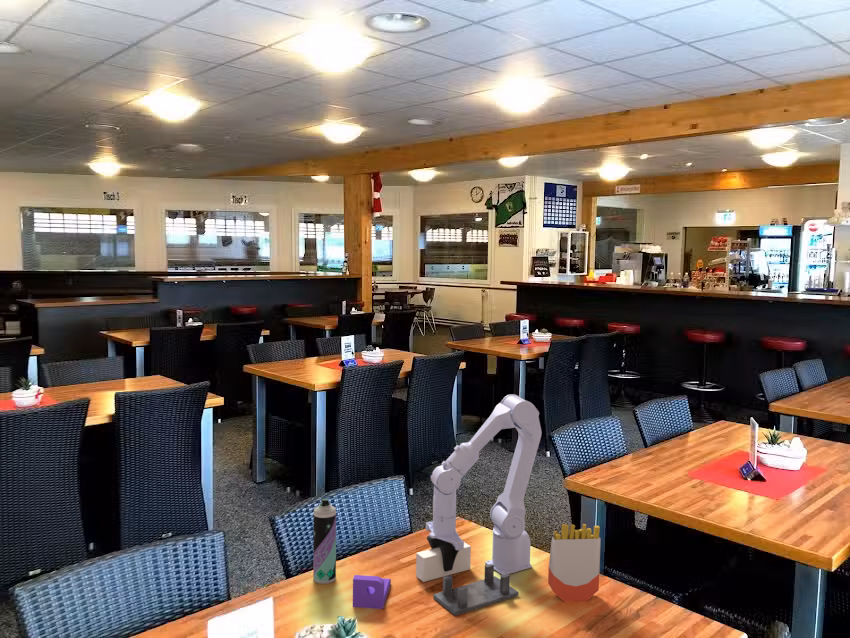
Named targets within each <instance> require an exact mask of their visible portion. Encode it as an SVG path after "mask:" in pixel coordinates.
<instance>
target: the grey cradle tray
mask: <svg viewBox="0 0 850 638" xmlns="http://www.w3.org/2000/svg"><path fill="white" fill-rule="evenodd" d="M494 572H495V570H494V565H492V564H489V565H487V564H485V565H484V577H483V578H484V579H480V580H477V581H474V582H470V583H466V584H464V585H460V586H456V587H454V588H453V581H454V580H453V579H454V578H453V577H454V576H452V574H451V575H447V576H443V577H442V591H440V592H437V593H433V594H432V595H433V597H432V599H433V600H434V601H436V602H437V604H440V605H441V606H442V607H443V608H444V609H445V610H447V611H448V612H449V613H450V614H452V615H453V616H454V617H457V616H460V615H462V614H463V615H464V614H466V613H469V612H473V611H475V610H478V609H481V608H485V607H488V606H491V605H494V604H497V603H500V602H501V603H502V602H503V601H507V600H510V599H513V598H516V597H519V593H520V592H519V591H518V590H517V589H515V588H513V587H512V586H511V585H510V582H511V581H510V580H511V577H510V576H511V575H510V574H505V575H502V574H501V575H500V576H499V577H500V578H499V577H497V576H495V573H494Z"/></svg>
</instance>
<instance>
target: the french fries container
mask: <svg viewBox="0 0 850 638" xmlns="http://www.w3.org/2000/svg"><path fill="white" fill-rule="evenodd" d="M575 528H576V525H575V524H570V526H569V525H568V523H562V524H561V529H560V531H561V532H560V533H558V531H557V530H554V532H553V536H552V537H551V544H550V551H549V552H550V553H549V561H548V575H547V576H548V578H547V579H548V580H547V583H548V585H549V587H550V589H551V590H552V592H553V593H554V594H555V595H556V596H557V597H559V598H560V599H561V600H562V601H563V602H585V601H586V602H587V601H588V600H590V599H591V598H592V596H593V597H594V595H595V594H596V593H597V592H599V590H600V587H599V586H600V568H601V567H600V566H601V564H600V563H601V562H600V561H601V559H600V558H601V542H602V541H601V539H602V538H601V537H600V532H601V531H600V529H601V528H600V526H599V525H594V526H593V533H592V528H590V527H587V523H586V524H585V523H582V528H580V529H575Z"/></svg>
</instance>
